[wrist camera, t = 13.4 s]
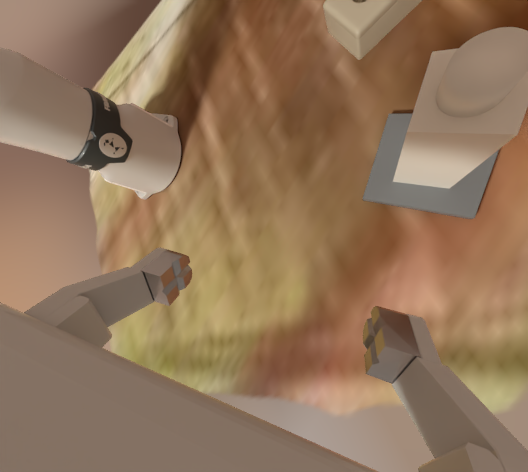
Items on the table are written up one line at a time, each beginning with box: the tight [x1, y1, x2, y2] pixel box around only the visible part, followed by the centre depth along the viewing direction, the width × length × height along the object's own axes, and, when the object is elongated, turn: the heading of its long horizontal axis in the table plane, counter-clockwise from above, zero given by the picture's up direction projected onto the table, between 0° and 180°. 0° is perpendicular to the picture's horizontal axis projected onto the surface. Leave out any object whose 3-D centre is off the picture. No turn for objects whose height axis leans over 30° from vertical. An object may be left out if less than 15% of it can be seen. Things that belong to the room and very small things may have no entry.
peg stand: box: [363, 113, 499, 219], centre depth 19 cm, size 10×10×8 cm
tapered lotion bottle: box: [393, 27, 528, 189], centre depth 16 cm, size 5×5×13 cm
